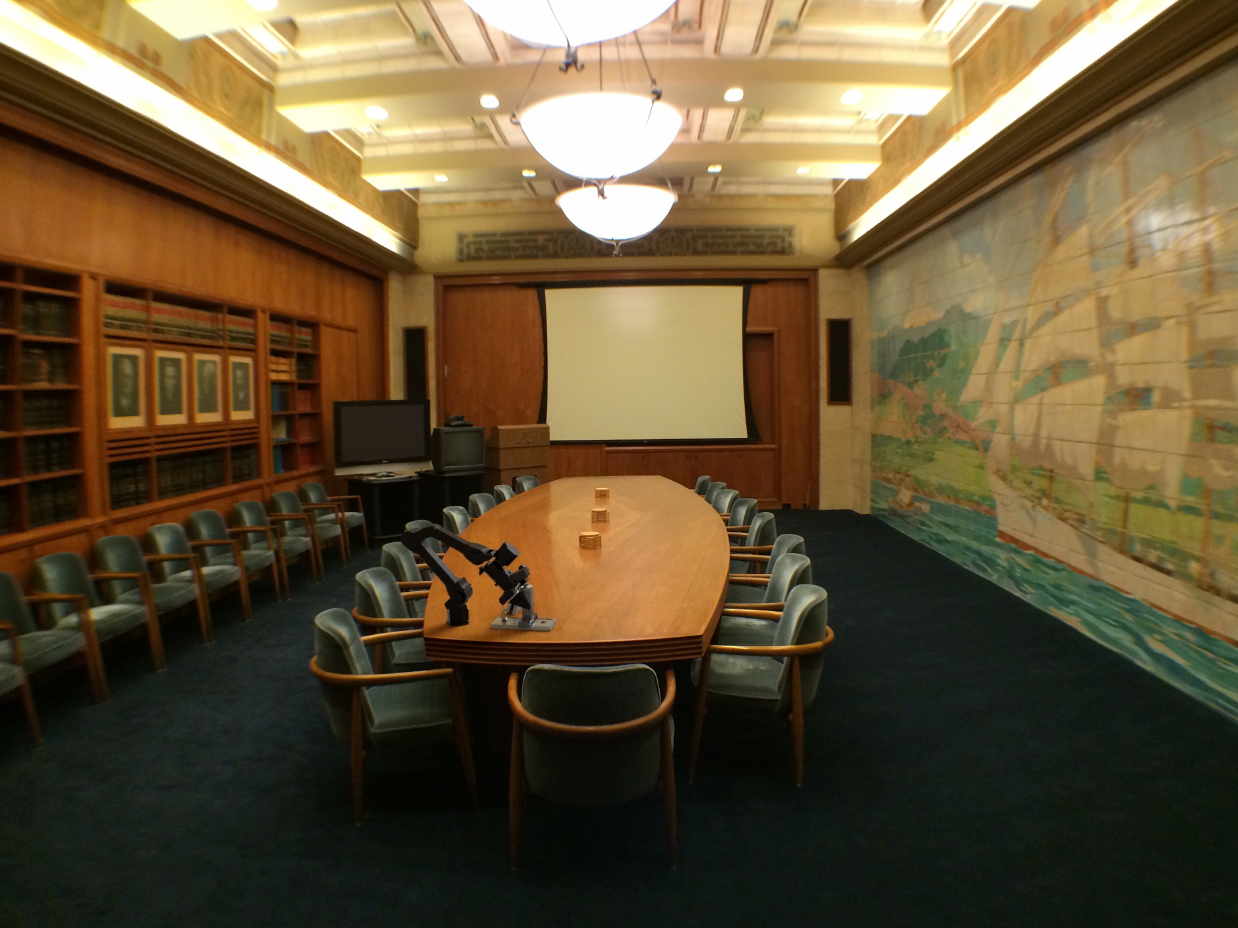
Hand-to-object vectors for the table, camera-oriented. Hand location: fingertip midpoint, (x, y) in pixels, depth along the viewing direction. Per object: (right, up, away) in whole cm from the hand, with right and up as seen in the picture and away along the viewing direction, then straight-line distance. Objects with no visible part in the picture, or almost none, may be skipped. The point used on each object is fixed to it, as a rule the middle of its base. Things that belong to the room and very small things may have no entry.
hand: (531, 607), depth 238 cm
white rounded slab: (-7, -5, +21) cm, 23 cm away
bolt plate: (-3, -7, +1) cm, 7 cm away
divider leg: (-1, -7, +1) cm, 7 cm away
